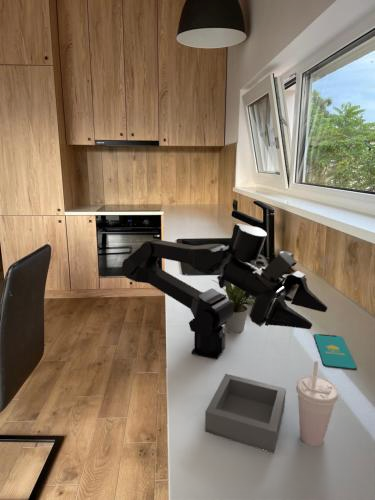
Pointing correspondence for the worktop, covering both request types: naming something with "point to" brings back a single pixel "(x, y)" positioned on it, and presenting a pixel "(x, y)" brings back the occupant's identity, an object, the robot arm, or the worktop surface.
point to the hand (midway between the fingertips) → (319, 317)
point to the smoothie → (315, 406)
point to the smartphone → (334, 352)
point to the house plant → (237, 309)
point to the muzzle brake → (260, 260)
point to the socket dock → (246, 412)
